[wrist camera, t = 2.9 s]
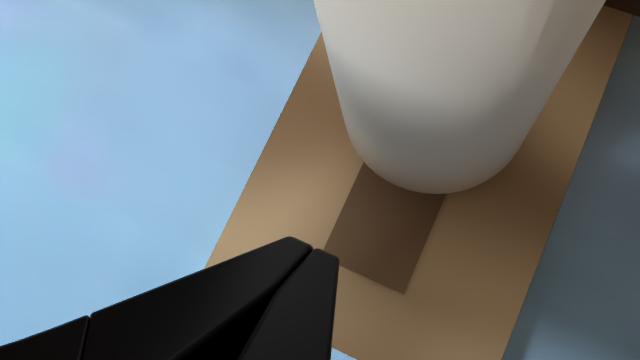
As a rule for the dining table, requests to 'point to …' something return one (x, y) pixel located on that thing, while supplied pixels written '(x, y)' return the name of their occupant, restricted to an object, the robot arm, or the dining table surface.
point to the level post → (447, 80)
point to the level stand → (421, 215)
